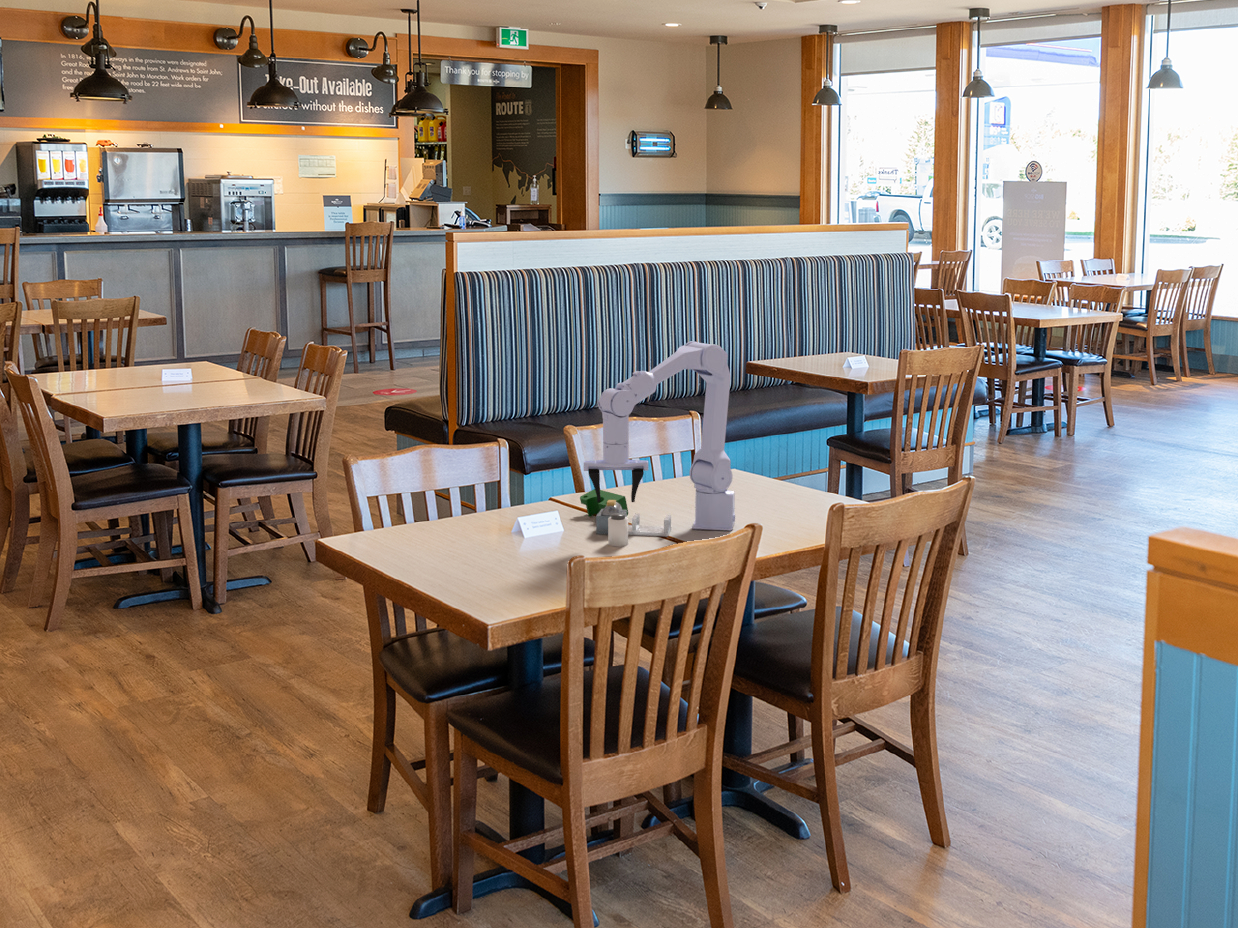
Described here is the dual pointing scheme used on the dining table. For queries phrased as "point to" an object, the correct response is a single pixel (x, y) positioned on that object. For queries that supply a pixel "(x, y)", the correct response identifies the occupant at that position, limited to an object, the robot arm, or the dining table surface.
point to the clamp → (595, 507)
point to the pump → (618, 530)
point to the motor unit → (635, 527)
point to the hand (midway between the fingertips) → (615, 501)
